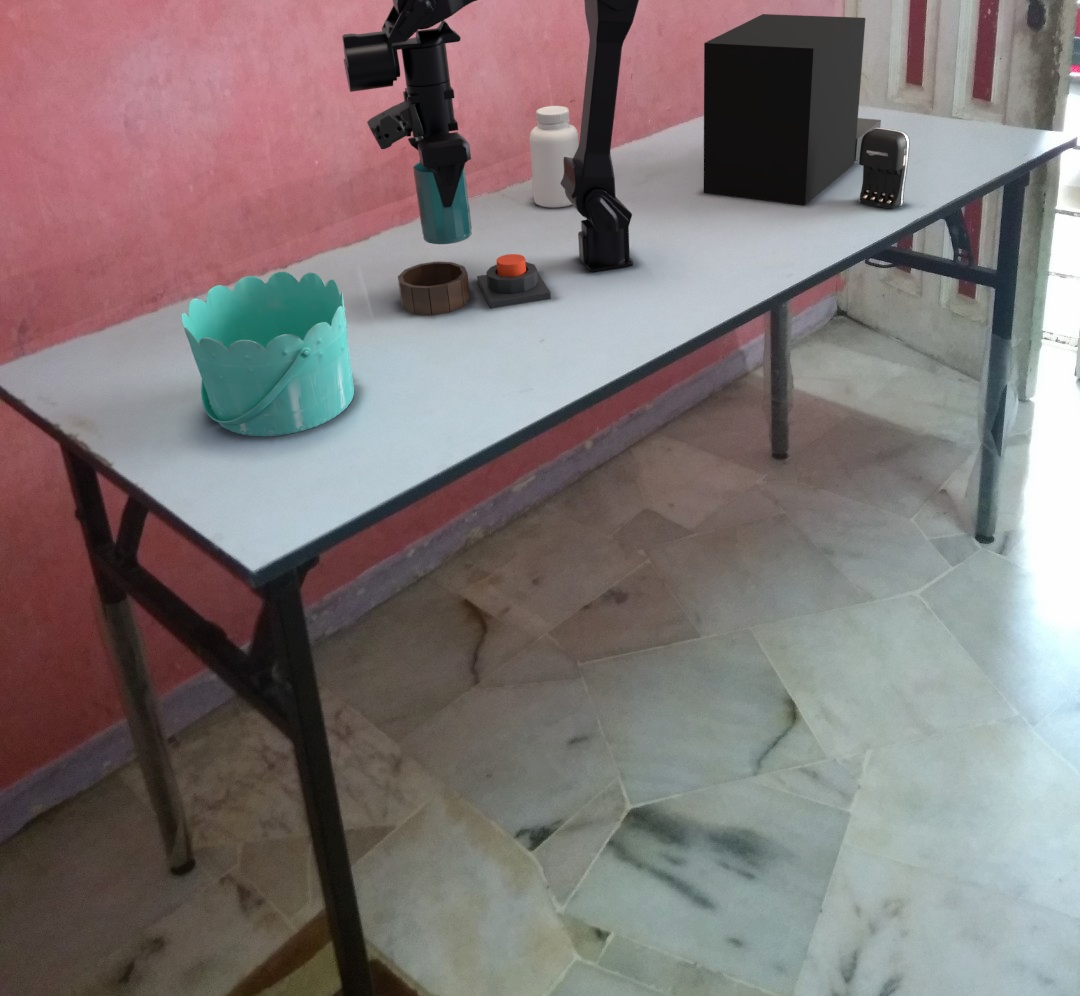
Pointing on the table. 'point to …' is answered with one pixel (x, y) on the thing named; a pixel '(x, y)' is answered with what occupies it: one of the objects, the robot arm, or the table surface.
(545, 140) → the pill bottle
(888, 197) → the battery charger
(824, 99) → the matte black box
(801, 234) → the table surface
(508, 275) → the release button
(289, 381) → the basket
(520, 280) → the button housing
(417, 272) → the stave barrel planter
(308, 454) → the table surface
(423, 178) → the cup
